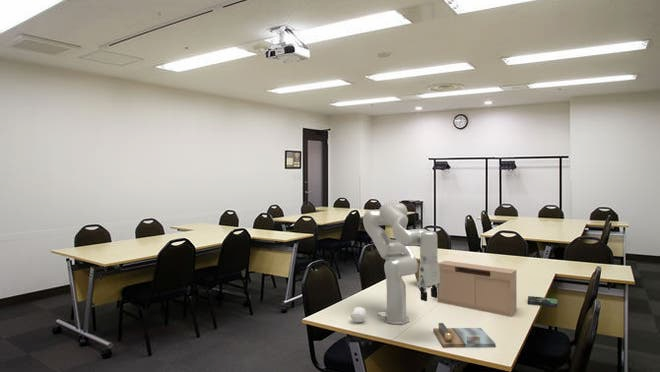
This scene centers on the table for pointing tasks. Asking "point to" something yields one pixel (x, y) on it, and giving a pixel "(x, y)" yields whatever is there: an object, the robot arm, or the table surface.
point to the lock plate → (465, 338)
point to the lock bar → (445, 332)
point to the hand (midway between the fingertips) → (429, 298)
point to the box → (478, 287)
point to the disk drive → (542, 301)
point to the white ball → (358, 314)
